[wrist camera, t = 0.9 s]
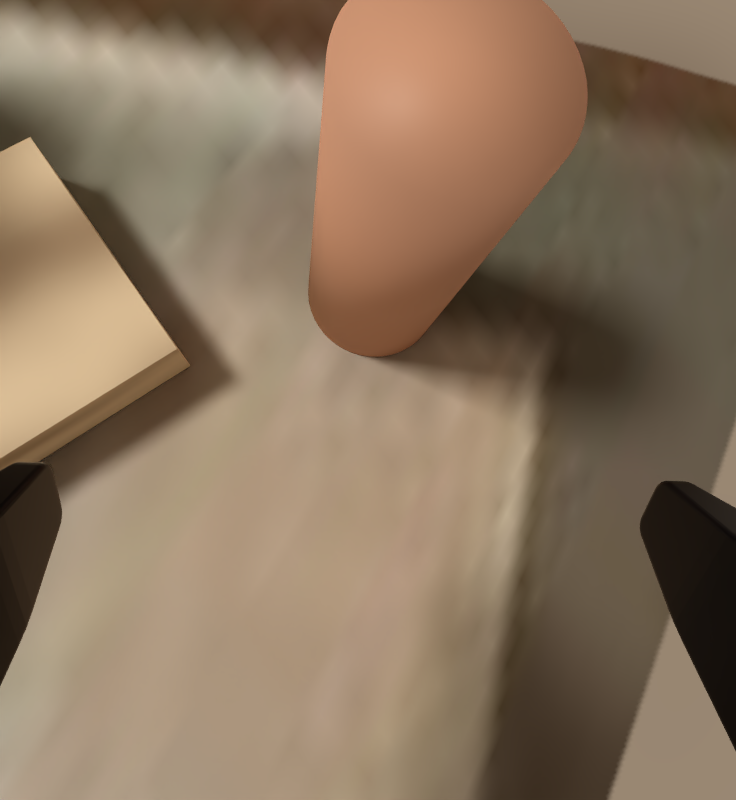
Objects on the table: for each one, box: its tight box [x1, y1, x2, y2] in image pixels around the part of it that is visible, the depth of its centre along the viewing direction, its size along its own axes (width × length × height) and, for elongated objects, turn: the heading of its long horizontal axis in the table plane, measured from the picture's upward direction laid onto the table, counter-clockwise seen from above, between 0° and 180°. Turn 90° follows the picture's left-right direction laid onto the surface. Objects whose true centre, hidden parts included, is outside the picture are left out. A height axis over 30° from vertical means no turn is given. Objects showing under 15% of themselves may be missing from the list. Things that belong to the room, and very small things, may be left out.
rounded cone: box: [308, 0, 588, 357], centre depth 17 cm, size 5×5×12 cm
